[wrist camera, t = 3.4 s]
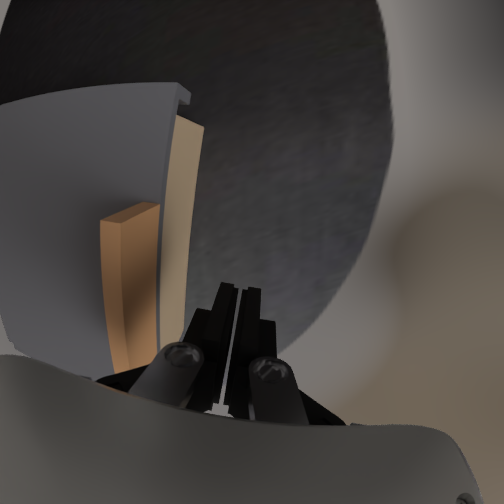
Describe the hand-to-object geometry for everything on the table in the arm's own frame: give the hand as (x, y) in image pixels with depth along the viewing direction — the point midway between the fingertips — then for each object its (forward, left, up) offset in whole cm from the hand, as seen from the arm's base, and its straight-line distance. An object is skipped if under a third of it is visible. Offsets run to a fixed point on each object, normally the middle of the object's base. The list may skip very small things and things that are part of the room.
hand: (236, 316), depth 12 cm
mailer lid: (0, -11, -3) cm, 12 cm away
